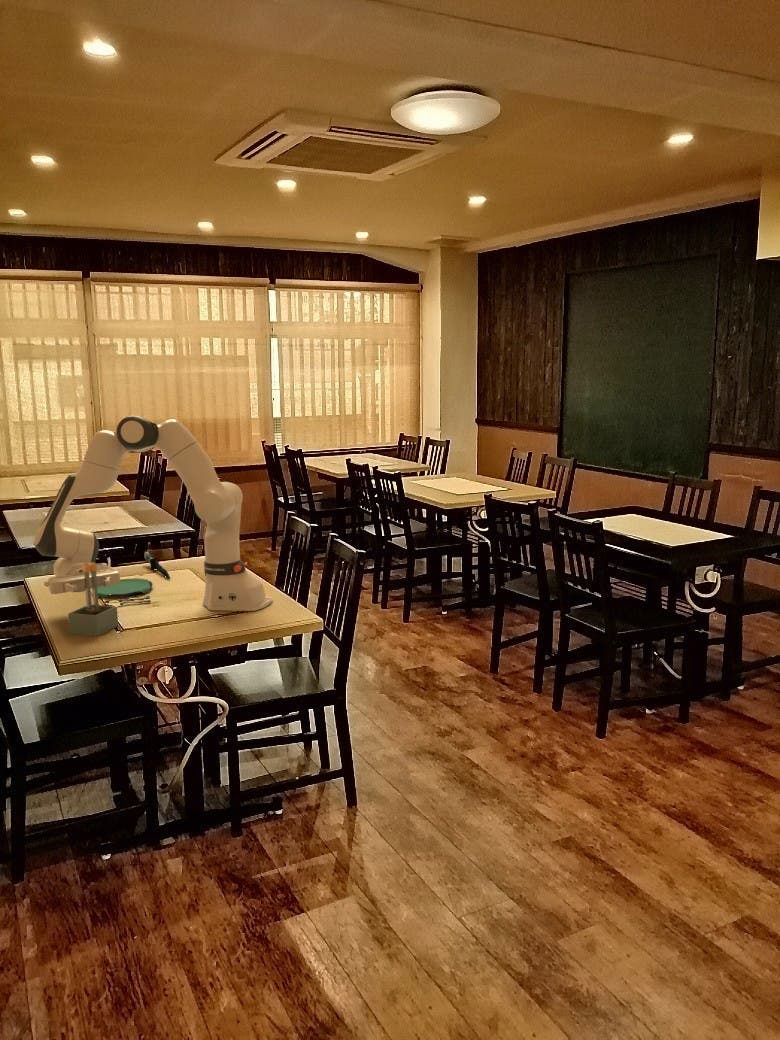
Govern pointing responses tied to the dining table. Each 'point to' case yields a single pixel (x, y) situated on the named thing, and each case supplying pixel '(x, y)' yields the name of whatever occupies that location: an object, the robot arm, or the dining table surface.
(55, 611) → the dining table surface
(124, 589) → the green cutting board
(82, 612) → the open box
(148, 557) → the knife
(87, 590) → the tongs
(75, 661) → the dining table surface
